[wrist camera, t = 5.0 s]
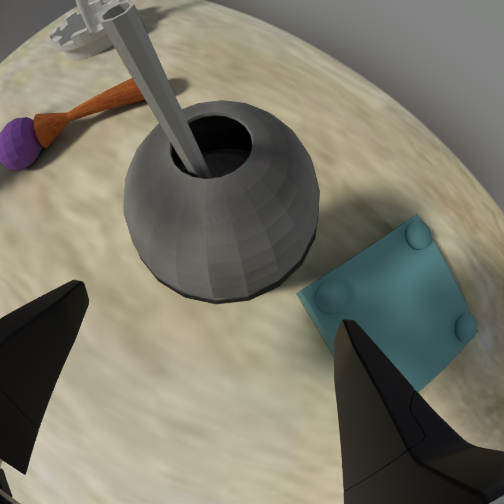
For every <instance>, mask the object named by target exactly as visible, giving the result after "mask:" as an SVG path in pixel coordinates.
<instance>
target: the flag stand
mask: <svg viewBox="0 0 504 504" xmlns="http://www.w3.org/2000/svg"><path fill="white" fill-rule="evenodd" d="M125 1H129V0H111V1H110V2H106V3H103V0H96V1H94V2H91V3H89V4H88V2H87V0H76V2H77V5H78V8H79V10H80V12H81V14H79V15H77V13H76V12H73V13H71V14H70V15H68V16H67V17H66V18H64V19H63V23H64V26H63V27H61V28H59V26H58V27H56V28H54V29H53V30H52V32H51V33H50V38H51V42H52V44H53V46H54V48H55V49H56V51H59V52H65V54H66V56H67V58H68V59H69V60H74V61H76V60H82V59H86V58H88V57H91V56H94V55H96V54H98V53H100V52H102V51H104V50H106V49H108V48H109V47H111V46H112V45H113V44H112V42H111V40H110V38H109V37H108V35H107V33H106V31H105V30H104V28H103V26H102V24H101V23H100V20H99V17H100V16H101V15H102V14H103V13H104V12H105V11H106V10H107V9H109V8H110V7H112V6H114V5H116V4H118V3H120V2H125Z"/></svg>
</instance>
